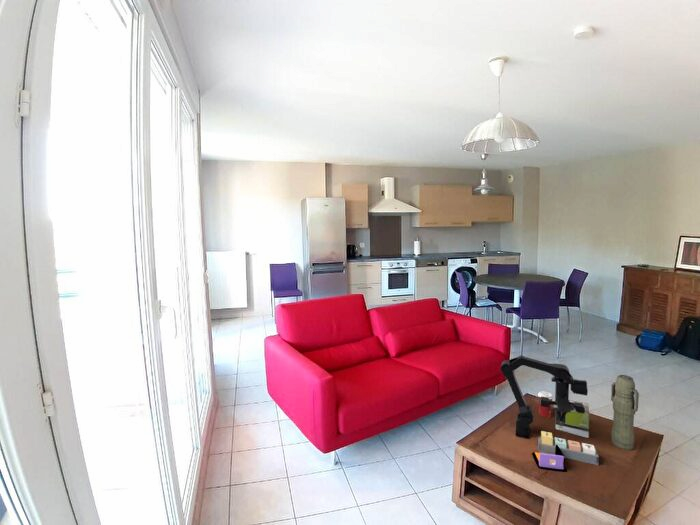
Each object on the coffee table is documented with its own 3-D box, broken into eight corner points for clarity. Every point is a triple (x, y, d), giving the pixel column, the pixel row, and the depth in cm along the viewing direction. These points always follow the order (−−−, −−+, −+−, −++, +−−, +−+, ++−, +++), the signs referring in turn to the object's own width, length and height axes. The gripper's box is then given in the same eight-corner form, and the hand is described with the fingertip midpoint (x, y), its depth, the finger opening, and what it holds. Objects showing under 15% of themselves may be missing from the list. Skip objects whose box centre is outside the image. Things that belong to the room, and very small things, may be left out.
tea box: (587, 429, 187) (588, 403, 186) (588, 438, 178) (589, 411, 177) (555, 421, 195) (556, 396, 194) (554, 430, 186) (555, 404, 185)
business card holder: (568, 473, 153) (568, 458, 153) (538, 469, 156) (538, 455, 156) (558, 456, 165) (558, 442, 164) (531, 453, 168) (531, 439, 167)
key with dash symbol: (568, 453, 164) (569, 444, 163) (567, 448, 168) (567, 439, 168) (580, 456, 162) (580, 447, 161) (578, 451, 166) (579, 442, 166)
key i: (541, 444, 169) (541, 435, 168) (540, 439, 173) (541, 430, 172) (552, 446, 167) (552, 437, 166) (551, 441, 171) (551, 432, 170)
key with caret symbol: (554, 450, 166) (555, 441, 166) (554, 445, 170) (554, 436, 170) (566, 453, 164) (566, 444, 164) (564, 448, 168) (565, 439, 168)
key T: (583, 457, 161) (583, 447, 161) (581, 451, 165) (581, 442, 165) (595, 459, 159) (595, 450, 159) (593, 454, 163) (593, 445, 163)
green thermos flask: (614, 436, 180) (617, 371, 177) (640, 448, 169) (644, 379, 167) (603, 440, 177) (606, 373, 174) (630, 453, 166) (633, 383, 163)
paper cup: (554, 421, 195) (555, 397, 194) (539, 420, 197) (540, 396, 196) (549, 414, 203) (550, 391, 202) (535, 413, 204) (536, 390, 203)
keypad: (538, 451, 168) (539, 443, 168) (538, 443, 174) (538, 436, 174) (598, 465, 158) (598, 456, 158) (595, 456, 164) (595, 448, 164)
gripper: (541, 394, 168) (540, 425, 169) (587, 401, 160) (586, 433, 161) (540, 385, 178) (539, 414, 179) (583, 391, 170) (582, 422, 171)
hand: (561, 421), depth 172 cm, fingers closed
